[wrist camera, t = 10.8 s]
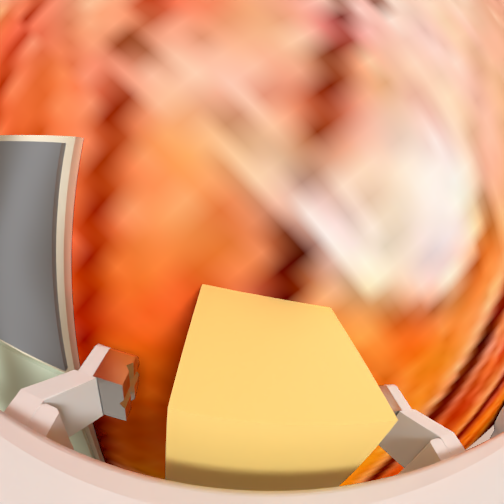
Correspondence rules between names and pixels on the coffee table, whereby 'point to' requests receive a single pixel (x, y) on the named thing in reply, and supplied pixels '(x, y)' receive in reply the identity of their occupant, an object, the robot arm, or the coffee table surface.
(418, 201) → the coffee table surface
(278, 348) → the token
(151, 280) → the coffee table surface
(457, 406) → the coffee table surface
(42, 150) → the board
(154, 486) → the robot arm
